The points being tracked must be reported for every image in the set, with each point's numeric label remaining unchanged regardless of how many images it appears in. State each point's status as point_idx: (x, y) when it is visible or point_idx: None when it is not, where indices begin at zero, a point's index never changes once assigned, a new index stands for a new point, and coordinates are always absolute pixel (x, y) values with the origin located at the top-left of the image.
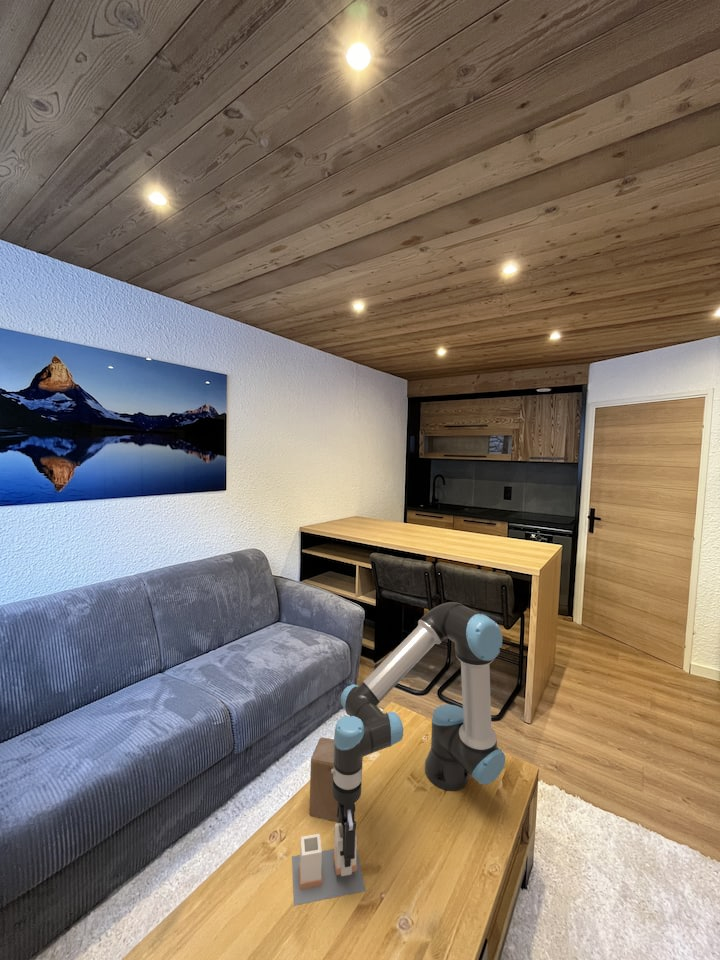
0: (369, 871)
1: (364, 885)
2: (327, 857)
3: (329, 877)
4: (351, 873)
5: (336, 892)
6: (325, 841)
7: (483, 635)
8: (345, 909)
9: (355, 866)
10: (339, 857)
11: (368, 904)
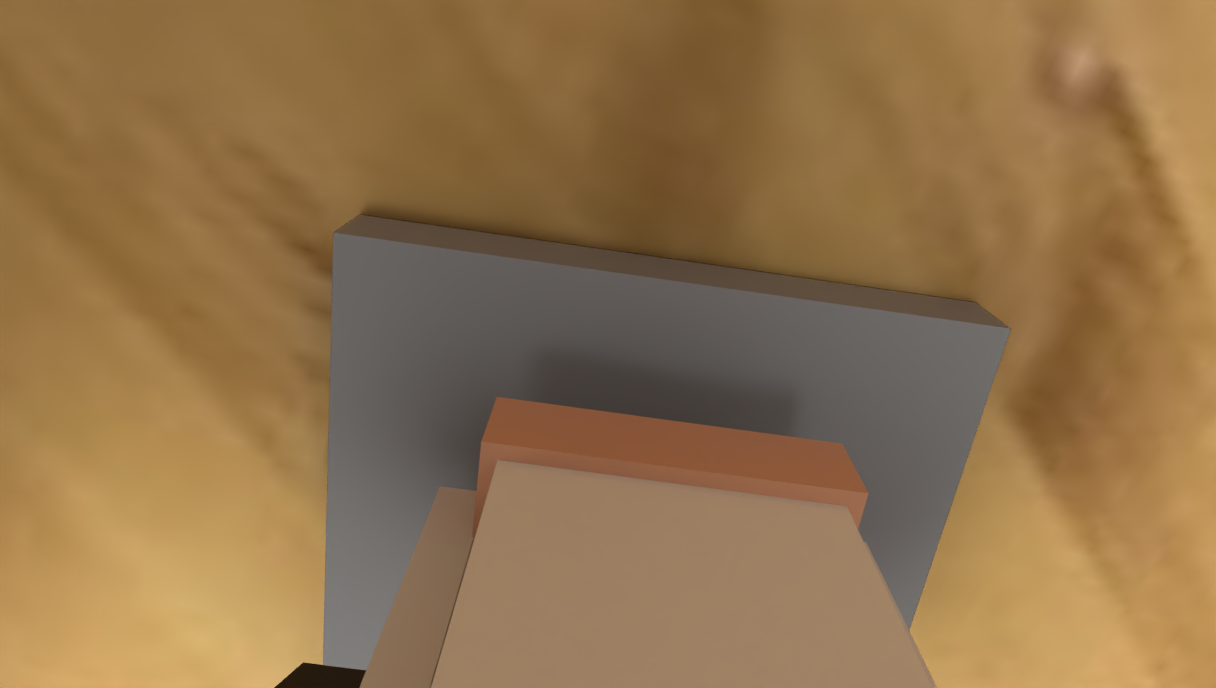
0: (711, 133)
1: (942, 320)
2: None
3: None
4: (870, 554)
5: None
6: (169, 549)
7: None
8: (984, 549)
9: (859, 517)
10: None
11: (1074, 298)
